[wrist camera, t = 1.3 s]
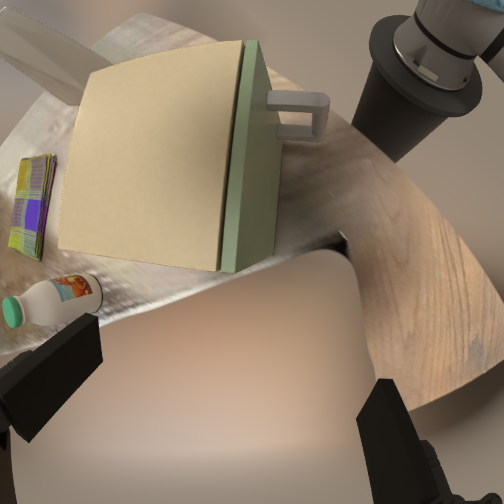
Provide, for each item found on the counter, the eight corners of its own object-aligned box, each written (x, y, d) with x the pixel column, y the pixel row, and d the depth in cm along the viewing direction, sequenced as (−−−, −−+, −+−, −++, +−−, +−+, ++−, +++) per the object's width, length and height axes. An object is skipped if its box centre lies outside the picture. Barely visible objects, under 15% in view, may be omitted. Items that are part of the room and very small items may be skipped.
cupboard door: (322, 135, 37) (333, 42, 15) (314, 258, 38) (325, 284, 17) (276, 132, 38) (245, 40, 17) (266, 253, 39) (220, 272, 18)
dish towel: (12, 246, 52) (5, 247, 49) (26, 156, 50) (18, 154, 47) (43, 262, 49) (34, 263, 46) (59, 155, 47) (51, 152, 44)
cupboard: (274, 132, 38) (242, 39, 17) (264, 253, 39) (215, 272, 18) (177, 134, 41) (90, 73, 20) (164, 243, 42) (57, 248, 21)
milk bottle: (108, 305, 45) (25, 333, 26) (85, 316, 47) (9, 343, 27) (94, 267, 46) (8, 279, 26) (72, 280, 47) (-6, 296, 27)
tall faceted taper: (89, 125, 45) (-36, 74, 13) (78, 95, 46) (-26, 45, 13) (131, 85, 43) (13, 3, 10) (116, 59, 43) (19, -13, 11)
